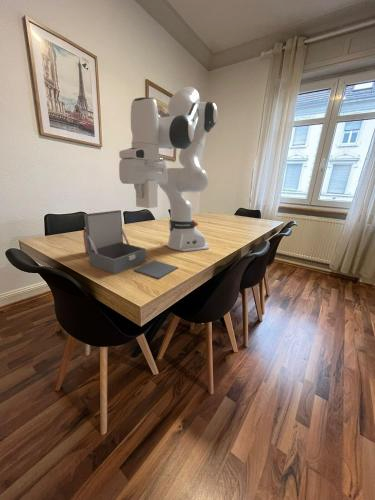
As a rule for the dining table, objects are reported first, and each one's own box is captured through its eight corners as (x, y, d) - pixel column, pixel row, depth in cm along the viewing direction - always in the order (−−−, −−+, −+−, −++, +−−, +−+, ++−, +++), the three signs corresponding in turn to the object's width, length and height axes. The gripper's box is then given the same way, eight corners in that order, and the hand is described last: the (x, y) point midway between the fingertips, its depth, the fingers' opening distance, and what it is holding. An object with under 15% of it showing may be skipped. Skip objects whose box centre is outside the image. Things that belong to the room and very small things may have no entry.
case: (147, 261, 88) (146, 214, 82) (116, 274, 75) (111, 219, 68) (122, 253, 96) (119, 210, 89) (89, 265, 82) (83, 214, 76)
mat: (154, 261, 88) (154, 260, 88) (178, 268, 82) (178, 267, 82) (134, 270, 78) (134, 269, 78) (158, 279, 73) (158, 277, 72)
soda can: (100, 255, 93) (98, 229, 89) (83, 255, 91) (80, 229, 88) (103, 250, 99) (101, 225, 96) (87, 250, 98) (84, 225, 94)
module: (157, 207, 74) (157, 179, 71) (148, 208, 71) (148, 179, 68) (145, 205, 77) (144, 179, 74) (136, 206, 74) (135, 179, 71)
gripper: (158, 158, 79) (158, 196, 83) (114, 151, 62) (117, 198, 66) (171, 158, 75) (171, 197, 80) (129, 150, 59) (131, 200, 63)
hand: (146, 197), depth 73 cm, fingers closed on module, 4 cm apart
